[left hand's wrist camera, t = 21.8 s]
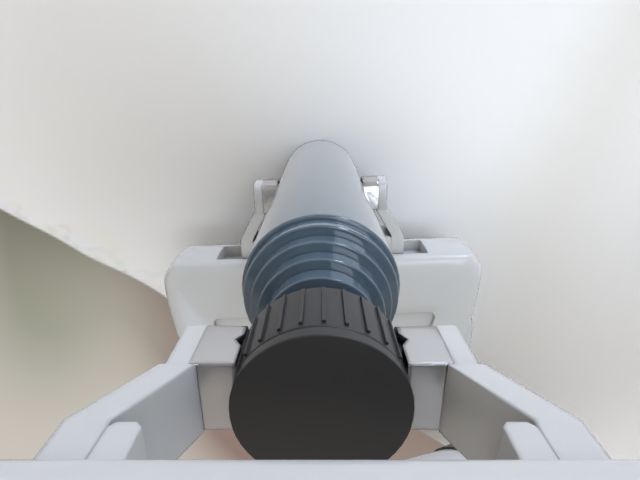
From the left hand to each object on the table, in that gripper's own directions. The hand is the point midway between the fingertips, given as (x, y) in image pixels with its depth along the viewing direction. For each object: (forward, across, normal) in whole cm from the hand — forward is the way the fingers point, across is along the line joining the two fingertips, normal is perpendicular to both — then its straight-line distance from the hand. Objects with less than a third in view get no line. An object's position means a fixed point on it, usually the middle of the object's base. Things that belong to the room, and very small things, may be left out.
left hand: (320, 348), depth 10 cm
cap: (-2, 0, 0) cm, 2 cm away
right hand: (+16, 0, -1) cm, 16 cm away
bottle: (+21, 0, 0) cm, 21 cm away
